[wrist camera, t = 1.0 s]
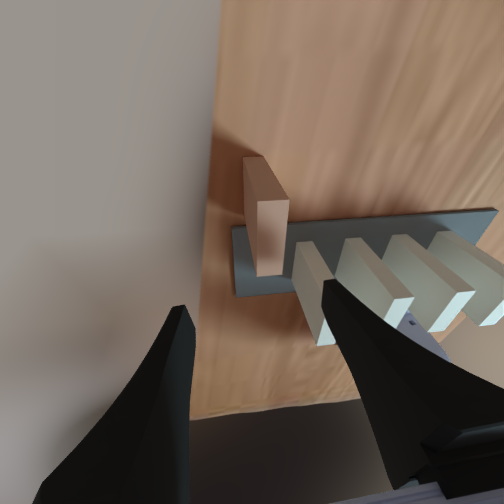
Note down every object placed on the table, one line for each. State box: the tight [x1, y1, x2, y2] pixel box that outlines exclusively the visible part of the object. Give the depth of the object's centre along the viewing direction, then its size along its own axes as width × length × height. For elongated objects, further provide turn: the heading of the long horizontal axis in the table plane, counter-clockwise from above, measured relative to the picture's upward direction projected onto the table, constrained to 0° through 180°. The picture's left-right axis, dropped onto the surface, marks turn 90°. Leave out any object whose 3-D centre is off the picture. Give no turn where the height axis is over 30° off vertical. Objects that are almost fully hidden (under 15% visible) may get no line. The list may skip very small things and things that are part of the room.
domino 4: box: [427, 231, 504, 326], centre depth 23 cm, size 2×5×8 cm, turn 0°
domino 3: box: [382, 234, 476, 333], centre depth 22 cm, size 2×5×8 cm, turn 0°
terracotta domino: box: [243, 156, 289, 277], centre depth 16 cm, size 2×5×8 cm, turn 0°
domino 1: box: [291, 241, 336, 346], centre depth 21 cm, size 2×5×8 cm, turn 0°
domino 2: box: [335, 237, 415, 329], centre depth 22 cm, size 2×5×8 cm, turn 0°
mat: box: [231, 209, 498, 297], centre depth 25 cm, size 27×9×1 cm, turn 90°
